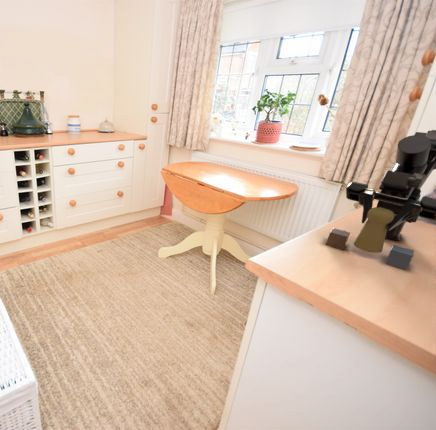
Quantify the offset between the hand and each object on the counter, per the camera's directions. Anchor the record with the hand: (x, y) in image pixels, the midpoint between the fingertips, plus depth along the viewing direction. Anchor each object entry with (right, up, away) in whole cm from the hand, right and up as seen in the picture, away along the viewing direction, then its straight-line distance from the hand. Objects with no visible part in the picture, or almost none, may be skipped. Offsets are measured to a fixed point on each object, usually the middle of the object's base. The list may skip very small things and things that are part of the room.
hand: (374, 226), depth 74 cm
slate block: (+5, -10, 0) cm, 11 cm away
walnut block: (-4, -6, +8) cm, 11 cm away
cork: (+1, -6, +3) cm, 7 cm away
